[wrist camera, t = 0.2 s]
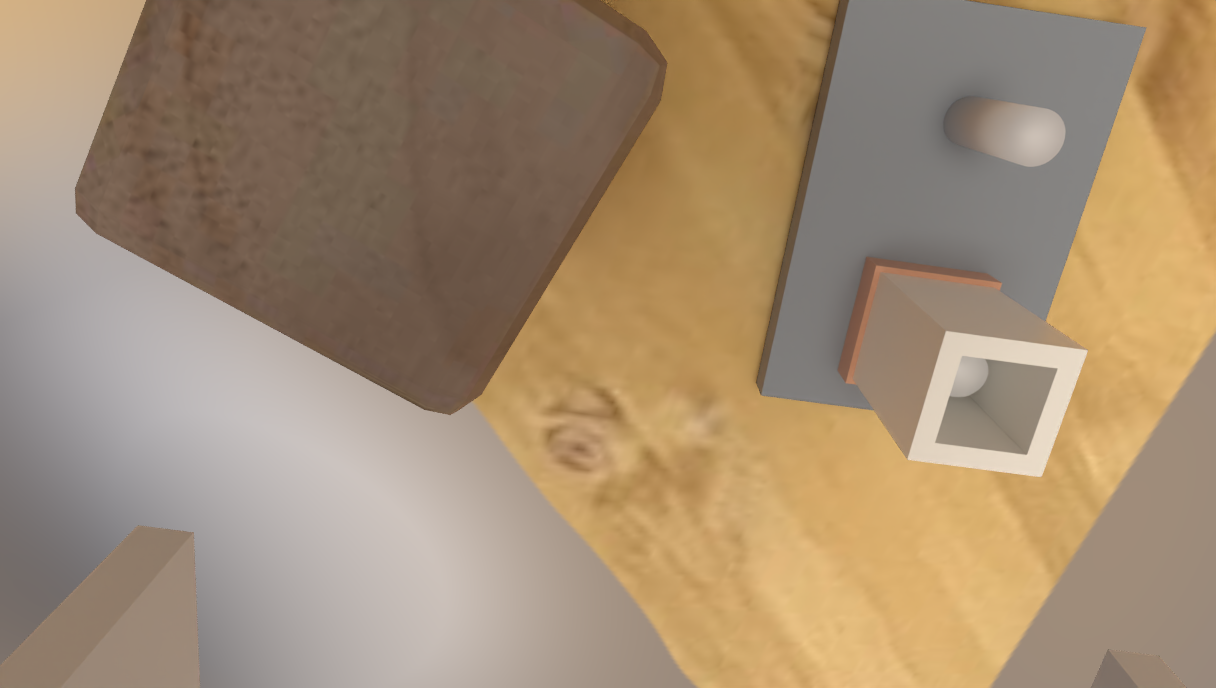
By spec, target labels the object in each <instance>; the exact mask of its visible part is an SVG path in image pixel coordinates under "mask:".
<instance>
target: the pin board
mask: <svg viewBox="0 0 1216 688" xmlns="http://www.w3.org/2000/svg"><path fill="white" fill-rule="evenodd" d="M1145 30H1146V28H1145V27H1139V26H1132V25H1125V24H1119V23H1112V22H1105V21H1099V20H1092V19H1086V18H1079V17H1072V16H1066V15H1059V14H1052V13H1046V12H1039V11H1033V10H1026V9H1019V8H1013V7H1006V6H999V5H993V4H986V3H979V2H973V1H966V0H840V3H839V7H838V12H837V16H836V21H835V25H834V30H833V35H832V39H831V44H830V48H829V53H828V57H827V62H826V67H825V71H824V76H823V80H822V85H821V89H820V94H819V99H818V103H817V108H816V112H815V117H814V121H813V126H812V130H811V135H810V140H809V144H808V149H807V153H806V158H805V162H804V167H803V172H802V176H801V181H800V185H799V190H798V194H797V199H796V204H795V208H794V213H793V217H792V222H791V226H790V231H789V236H788V240H787V245H786V249H785V254H784V258H783V263H782V268H781V272H780V277H779V281H778V286H777V290H776V295H775V300H774V304H773V309H772V313H771V318H770V322H769V327H768V332H767V336H766V341H765V345H764V350H763V354H762V359H761V364H760V368H759V373H758V377H757V382H756V383H757V386H758V388H759V391H760V394H761V395H762V396H770V397H777V398H785V399H792V400H800V401H807V402H815V403H823V404H830V405H838V406H845V407H853V408H860V409H868V410H873V408H872V407H871V405H870V404H869V402H868V401H867V399H866V398H865V397H864V395H863V394H862V392H861V391H860V389H859V388H858V386H857V385H855V384H848V383H845V381H844V380H843V378H842V377H841V375H840V374H839V372H838V371H837V370H838V366H839V362H840V358H841V354H842V351H843V347H844V343H845V339H846V335H847V331H848V327H849V323H850V319H851V315H852V311H853V307H854V304H855V300H856V296H857V292H858V288H859V284H860V280H861V276H862V272H863V268H864V264H865V260H866V257H873V258H880V259H887V260H894V261H901V262H909V263H916V264H923V265H930V266H937V267H945V268H952V269H959V270H966V271H973V272H981V273H988V274H989V275H991V276H992V277H994V278H995V279H997V280H998V281H1000V282H1002V285H1001V288H1000V292H1002V293H1003V294H1005V295H1006V296H1008V297H1009V298H1011V299H1012V300H1014V301H1015V302H1017V303H1018V304H1020V305H1021V306H1023V307H1024V308H1026V309H1027V310H1029V311H1030V312H1032V313H1033V314H1035V315H1036V316H1038V317H1039V318H1041V319H1042V320H1044V321H1046V318H1047V315H1048V312H1049V309H1050V307H1051V304H1052V301H1053V298H1054V295H1055V292H1056V289H1057V286H1058V283H1059V280H1060V277H1061V275H1062V272H1063V269H1064V266H1065V263H1066V260H1067V257H1068V254H1069V251H1070V248H1071V245H1072V243H1073V240H1074V237H1075V234H1076V231H1077V228H1078V225H1079V222H1080V219H1081V216H1082V213H1083V211H1084V208H1085V205H1086V202H1087V199H1088V196H1089V193H1090V190H1091V187H1092V184H1093V181H1094V179H1095V176H1096V173H1097V170H1098V167H1099V164H1100V161H1101V158H1102V155H1103V152H1104V150H1105V147H1106V144H1107V141H1108V138H1109V135H1110V132H1111V129H1112V126H1113V123H1114V120H1115V118H1116V115H1117V112H1118V109H1119V106H1120V103H1121V100H1122V97H1123V94H1124V91H1125V88H1126V86H1127V83H1128V80H1129V77H1130V74H1131V71H1132V68H1133V65H1134V62H1135V59H1136V56H1137V54H1138V51H1139V48H1140V45H1141V42H1142V39H1143V36H1144V33H1145ZM987 376H988V364H987V362H986V360H985V359H983V358H975V357H968V356H962V358H961V361H960V364H959V367H958V370H957V374H956V377H955V380H954V383H953V387H952V390H951V393H950V396H952V397H965V396H969V395H971V394H973V393H975V392H976V391H978V390H979V389H980V388H981V387H982V386H983V384H984V383H985V381H986V379H987Z"/></svg>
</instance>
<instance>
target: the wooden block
mask: <svg viewBox="0 0 1216 688" xmlns="http://www.w3.org/2000/svg"><path fill="white" fill-rule="evenodd" d="M666 67H667V62H666V60H665V59H664V57H663V56H662V54H661V53H660V51H659V50H658V48H657V47H656V45H655V43H654V42H653V40H652V39H651V37H650V36H649V34H648V33H647V31H645V30H644V29H642V28H641V27H639V26H638V25H636V24H635V23H633V22H632V21H630V20H629V19H627V18H626V17H624V16H623V15H621V14H620V13H618V12H617V11H615V10H614V9H612V8H611V7H609V6H608V5H606V4H605V3H603V2H602V1H600V0H146V2H145V5H144V8H143V10H142V13H141V16H140V18H139V21H138V24H137V26H136V29H135V32H134V34H133V37H132V39H131V42H130V45H129V48H128V50H127V53H126V55H125V58H124V61H123V63H122V66H121V68H120V71H119V74H118V76H117V79H116V82H115V85H114V87H113V90H112V92H111V95H110V97H109V100H108V103H107V106H106V108H105V111H104V113H103V116H102V119H101V121H100V124H99V127H98V129H97V132H96V135H95V137H94V140H93V143H92V145H91V148H90V150H89V153H88V156H87V158H86V161H85V163H84V166H83V169H82V171H81V174H80V177H79V179H78V182H77V185H76V187H75V198H76V214H77V215H78V216H79V217H80V218H81V219H82V220H83V221H84V222H85V223H86V224H87V225H88V226H89V227H90V228H91V229H92V230H93V231H94V232H95V233H96V234H98V235H100V236H102V237H104V238H106V239H108V240H110V241H111V242H113V243H115V244H117V245H119V246H121V247H123V248H124V249H126V250H128V251H130V252H132V253H134V254H136V255H137V256H139V257H141V258H143V259H145V260H147V261H149V262H151V263H153V264H154V265H156V266H158V267H160V268H162V269H164V270H165V271H167V272H169V273H171V274H173V275H175V276H177V277H178V278H180V279H182V280H184V281H186V282H188V283H190V284H191V285H193V286H195V287H197V288H199V289H201V290H203V291H204V292H206V293H208V294H210V295H212V296H214V297H216V298H218V299H219V300H221V301H223V302H225V303H227V304H229V305H231V306H233V307H234V308H236V309H238V310H240V311H242V312H244V313H245V314H247V315H249V316H251V317H253V318H255V319H257V320H258V321H260V322H262V323H264V324H266V325H268V326H270V327H271V328H273V329H275V330H277V331H279V332H281V333H283V334H284V335H287V336H288V337H290V338H292V339H294V340H296V341H298V342H299V343H301V344H303V345H305V346H307V347H309V348H311V349H313V350H314V351H316V352H318V353H320V354H322V355H324V356H325V357H328V358H329V359H331V360H333V361H335V362H337V363H339V364H340V365H342V366H344V367H346V368H348V369H350V370H351V371H354V372H355V373H357V374H359V375H361V376H363V377H365V378H366V379H369V380H370V381H372V382H374V383H376V384H378V385H380V386H381V387H383V388H385V389H387V390H389V391H391V392H392V393H394V394H396V395H398V396H400V397H402V398H404V399H406V400H407V401H409V402H411V403H413V404H415V405H417V406H419V407H421V408H422V409H424V410H429V411H433V412H438V413H443V414H448V415H451V414H453V413H454V412H456V411H458V410H460V409H461V408H462V407H464V406H465V405H467V404H468V403H470V402H471V401H473V400H474V399H476V398H477V397H478V396H480V395H481V394H482V393H483V391H484V389H485V388H486V386H487V384H488V383H489V381H490V379H491V378H492V376H493V375H494V373H495V371H496V370H497V368H498V366H499V365H500V363H501V361H502V360H503V358H504V356H505V355H506V353H507V352H508V350H509V348H510V347H511V345H512V343H513V342H514V340H515V338H516V337H517V335H518V334H519V332H520V330H521V329H522V327H523V325H524V324H525V322H526V320H527V319H528V317H529V316H530V314H531V312H532V311H533V309H534V307H535V306H536V304H537V302H538V301H539V299H540V298H541V296H542V294H543V293H544V291H545V289H546V288H547V286H548V284H549V283H550V281H551V279H552V278H553V276H554V275H555V273H556V271H557V270H558V268H559V266H560V265H561V263H562V261H563V260H564V258H565V257H566V255H567V253H568V252H569V250H570V248H571V247H572V245H573V243H574V242H575V240H576V239H577V237H578V235H579V234H580V232H581V230H582V229H583V227H584V225H585V224H586V222H587V221H588V219H589V217H590V216H591V214H592V212H593V211H594V209H595V207H596V206H597V204H598V202H599V201H600V199H601V198H602V196H603V194H604V193H605V191H606V189H607V188H608V186H609V184H610V183H611V181H612V180H613V178H614V176H615V175H616V173H617V171H618V170H619V168H620V166H621V165H622V163H623V162H624V160H625V158H626V157H627V155H628V153H629V152H630V150H631V148H632V147H633V145H634V143H635V142H636V140H637V139H638V137H639V135H640V134H641V132H642V130H643V129H644V127H645V125H646V124H647V122H648V121H649V119H650V117H651V116H652V114H653V112H654V111H655V109H656V107H657V106H658V104H659V103H660V101H661V96H662V90H663V85H664V79H665V73H666Z"/></svg>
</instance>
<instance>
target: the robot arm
mask: <svg viewBox="0 0 1216 688" xmlns="http://www.w3.org/2000/svg"><path fill="white" fill-rule="evenodd" d="M196 602H197V601H196V578H195V553H194V533H193V532H186V531H178V530H170V529H162V528H154V527H147V526H146V527H145V526H139V525H138V526H137V527H136V528H135V529H134V530H133V531H132V532H131V533H130V534H129V535H128V536H127V537H126V538H125V539H124V540H123V541H122V542H121V543H120V544H119V545H118V546H117V547H116V548H115V549H114V550H113V551H112V552H111V553H110V554H109V555H108V556H107V557H106V558H105V559H104V560H103V561H102V562H101V564H99V565H98V566H97V567H96V569H95V570H94V571H93V572H92V573H91V574H90V575H89V576H88V577H87V578H86V579H85V580H84V581H83V582H82V583H81V584H80V585H79V586H78V587H77V588H76V589H75V590H74V591H73V592H72V593H71V594H70V595H69V596H68V597H67V598H66V599H65V600H64V601H63V602H62V603H61V604H60V605H59V606H58V607H57V608H56V609H55V610H54V611H53V612H52V613H51V614H50V615H49V616H48V617H47V618H46V619H45V620H44V621H43V622H42V623H41V625H39V626H38V627H37V628H36V630H35V631H34V632H33V633H32V634H31V635H30V636H29V637H28V638H27V639H26V640H25V641H24V642H23V643H22V644H21V645H20V646H19V647H18V648H17V649H16V650H15V651H14V652H13V653H12V654H11V655H10V656H9V657H8V658H7V659H6V660H5V661H4V662H3V663H2V664H1V665H0V688H200V676H199V651H198V627H197V603H196ZM1091 688H1187V687H1186V686H1185V685H1184V684H1183V683H1182V682H1181V681H1180V679H1179V678H1178V677H1177V676H1176V675H1175V674H1174V673H1173V671H1172V670H1171V669H1170V668H1169V667H1168V666H1167V664H1166V663H1165V662H1164V661H1163V660H1162V659H1161V658H1160V656H1157V655H1149V654H1141V653H1133V652H1125V651H1117V650H1110V649H1108V650H1107V653H1106V655H1105V657H1104V659H1103V662H1102V664H1101V666H1100V668H1099V671H1098V673H1097V675H1096V677H1095V680H1094V682H1093V684H1092V686H1091Z"/></svg>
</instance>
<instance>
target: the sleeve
mask: <svg viewBox="0 0 1216 688" xmlns="http://www.w3.org/2000/svg"><path fill="white" fill-rule="evenodd" d="M1001 285H1002V282H1000V281H998V280H997V279H995V278H994V277H992V276H991V275H989V274H988V273H981V272H973V271H966V270H959V269H952V268H945V267H937V266H930V265H923V264H916V263H909V262H901V261H894V260H887V259H880V258H873V257H866V260H865V264H864V268H863V272H862V276H861V280H860V284H859V288H858V292H857V296H856V300H855V304H854V307H853V311H852V315H851V319H850V323H849V327H848V331H847V335H846V339H845V343H844V347H843V351H842V354H841V358H840V362H839V366H838V370H837V371H838V372H839V374H840V375H841V377H842V378H843V380H844V381H845V383H848V384H855V385H857V386H858V388H859V389H860V391H861V392H862V394H863V395H864V397H865V398H866V399H867V401H868V402H869V404H870V405H871V407H872V408H873V410H874V411H875V413H876V414H877V416H878V417H879V419H880V420H881V422H882V423H883V425H884V426H885V427H886V429H887V430H888V432H889V433H890V435H891V436H892V438H893V439H894V441H895V442H896V444H897V445H898V447H899V448H900V450H901V451H902V453H903V454H904V455H905V457H906V458H907V460H914V461H922V462H929V463H937V464H945V465H952V466H960V467H968V468H975V469H983V470H991V471H998V472H1006V473H1014V474H1021V475H1029V476H1037V477H1042V474H1043V471H1044V469H1045V466H1046V463H1047V461H1048V458H1049V455H1050V452H1051V450H1052V447H1053V444H1054V442H1055V439H1056V436H1057V433H1058V431H1059V428H1060V425H1061V423H1062V420H1063V417H1064V414H1065V412H1066V409H1067V406H1068V404H1069V401H1070V398H1071V395H1072V393H1073V390H1074V387H1075V384H1076V382H1077V379H1078V376H1079V374H1080V371H1081V368H1082V365H1083V363H1084V360H1085V357H1086V355H1087V352H1088V350H1087V349H1085V348H1084V347H1082V346H1081V345H1079V344H1078V343H1076V342H1075V341H1073V340H1072V339H1070V338H1069V337H1067V336H1066V335H1064V334H1063V333H1061V332H1060V331H1058V330H1057V329H1056V328H1054V327H1053V326H1051V325H1050V324H1048V323H1047V322H1045V321H1044V320H1042V319H1041V318H1039V317H1038V316H1036V315H1035V314H1033V313H1032V312H1030V311H1029V310H1027V309H1026V308H1024V307H1023V306H1021V305H1020V304H1018V303H1017V302H1015V301H1014V300H1012V299H1011V298H1009V297H1008V296H1006V295H1005V294H1003V293H1002V292H1000V288H1001ZM962 356H968V357H975V358H983V359H985V360H986V362H987V364H988V376H987V379H986V381H985V383H984V384H983V386H982V387H981V388H980V389H979V390H978V391H976V392H975V393H973V394H971V395H969V396H965V397H952V396H950V393H951V390H952V387H953V383H954V380H955V377H956V374H957V370H958V367H959V364H960V361H961V358H962Z"/></svg>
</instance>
